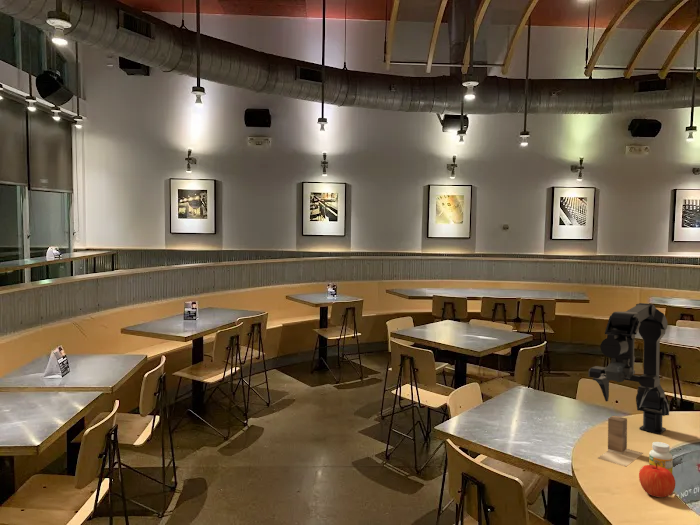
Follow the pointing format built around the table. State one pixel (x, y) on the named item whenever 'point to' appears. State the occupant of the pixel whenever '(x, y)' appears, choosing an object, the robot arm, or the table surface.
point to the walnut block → (617, 434)
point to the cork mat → (621, 457)
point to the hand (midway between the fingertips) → (622, 404)
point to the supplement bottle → (661, 456)
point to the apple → (657, 480)
